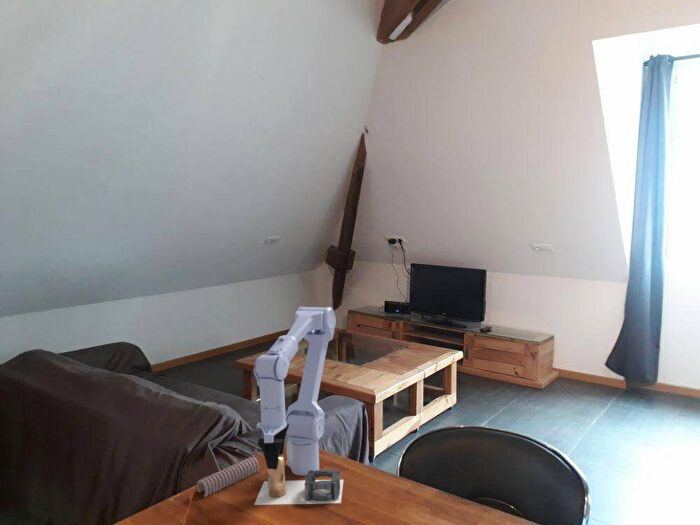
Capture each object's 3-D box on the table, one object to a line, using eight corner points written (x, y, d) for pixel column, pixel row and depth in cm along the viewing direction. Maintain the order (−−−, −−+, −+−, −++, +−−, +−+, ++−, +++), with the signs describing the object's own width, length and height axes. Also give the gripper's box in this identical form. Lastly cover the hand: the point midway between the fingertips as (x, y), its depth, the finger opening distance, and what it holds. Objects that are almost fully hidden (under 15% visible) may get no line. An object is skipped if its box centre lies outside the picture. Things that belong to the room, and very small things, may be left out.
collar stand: (304, 501, 130) (303, 484, 130) (308, 485, 138) (307, 469, 138) (338, 500, 130) (338, 484, 129) (340, 485, 138) (340, 469, 137)
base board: (254, 508, 130) (254, 504, 129) (264, 485, 142) (264, 481, 141) (341, 507, 129) (340, 502, 129) (343, 483, 141) (343, 479, 141)
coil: (205, 485, 134) (262, 459, 148) (193, 478, 137) (250, 453, 150) (205, 503, 134) (261, 475, 148) (193, 496, 137) (250, 469, 151)
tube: (285, 489, 137) (283, 453, 136) (285, 497, 133) (284, 459, 132) (268, 491, 136) (266, 454, 135) (268, 498, 132) (266, 461, 131)
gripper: (261, 396, 140) (264, 449, 141) (249, 415, 126) (252, 475, 127) (290, 395, 140) (292, 449, 141) (280, 415, 126) (283, 474, 126)
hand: (275, 461), depth 134 cm, fingers open, 7 cm apart
